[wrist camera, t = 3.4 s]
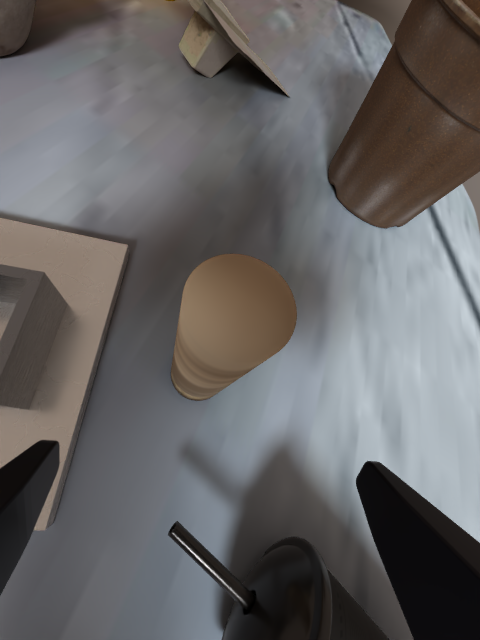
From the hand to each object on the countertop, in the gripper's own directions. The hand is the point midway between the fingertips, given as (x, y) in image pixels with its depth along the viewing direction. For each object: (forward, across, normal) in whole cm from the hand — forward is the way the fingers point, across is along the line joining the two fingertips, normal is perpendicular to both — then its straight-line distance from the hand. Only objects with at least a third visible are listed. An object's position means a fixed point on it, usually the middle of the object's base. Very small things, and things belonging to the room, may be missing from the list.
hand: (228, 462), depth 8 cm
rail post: (+11, 0, +5) cm, 12 cm away
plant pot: (+29, -18, -13) cm, 37 cm away
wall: (+40, +2, -23) cm, 46 cm away
